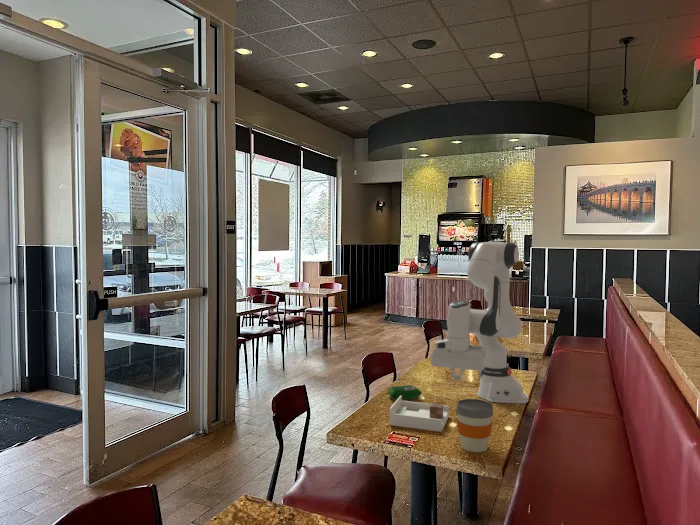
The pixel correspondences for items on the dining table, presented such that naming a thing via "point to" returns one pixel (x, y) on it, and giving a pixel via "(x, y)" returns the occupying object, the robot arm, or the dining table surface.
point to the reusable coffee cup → (474, 424)
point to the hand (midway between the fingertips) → (457, 379)
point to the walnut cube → (436, 411)
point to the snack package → (404, 392)
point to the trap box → (416, 415)
